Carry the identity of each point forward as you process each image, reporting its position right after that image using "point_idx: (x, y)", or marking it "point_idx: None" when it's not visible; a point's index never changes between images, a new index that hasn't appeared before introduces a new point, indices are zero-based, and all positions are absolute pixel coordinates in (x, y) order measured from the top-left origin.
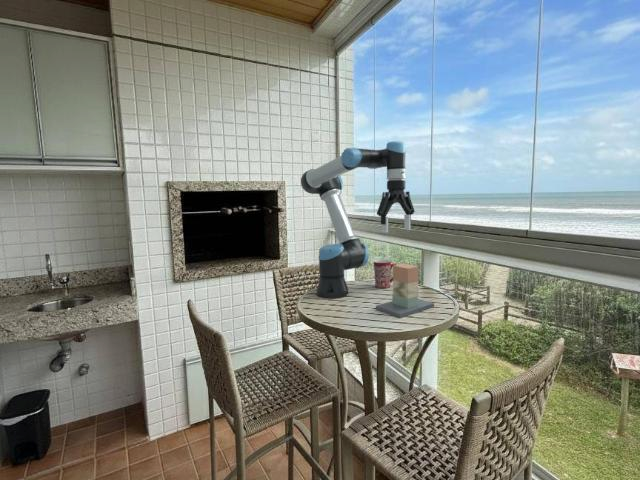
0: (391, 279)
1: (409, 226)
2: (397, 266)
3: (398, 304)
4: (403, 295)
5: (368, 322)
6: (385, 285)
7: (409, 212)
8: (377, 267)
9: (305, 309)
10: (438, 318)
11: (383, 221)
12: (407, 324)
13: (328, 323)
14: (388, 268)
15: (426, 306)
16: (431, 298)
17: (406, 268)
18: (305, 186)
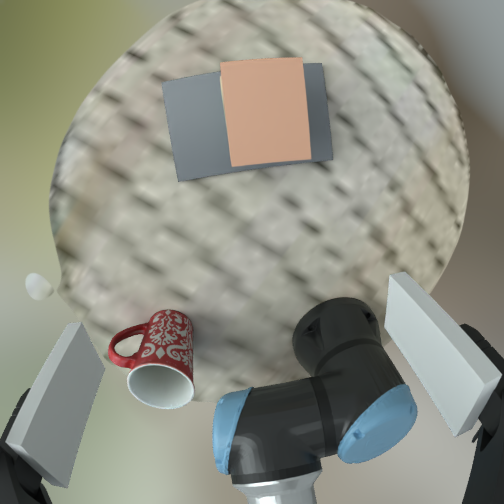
0: (142, 329)
1: (66, 343)
2: (308, 126)
3: None
4: None
5: (400, 96)
6: (173, 315)
7: (6, 471)
8: (190, 368)
9: (446, 257)
10: (229, 10)
11: (487, 341)
12: (331, 26)
13: (460, 151)
14: (153, 348)
15: (200, 75)
16: (110, 156)
17: (302, 66)
18: None
